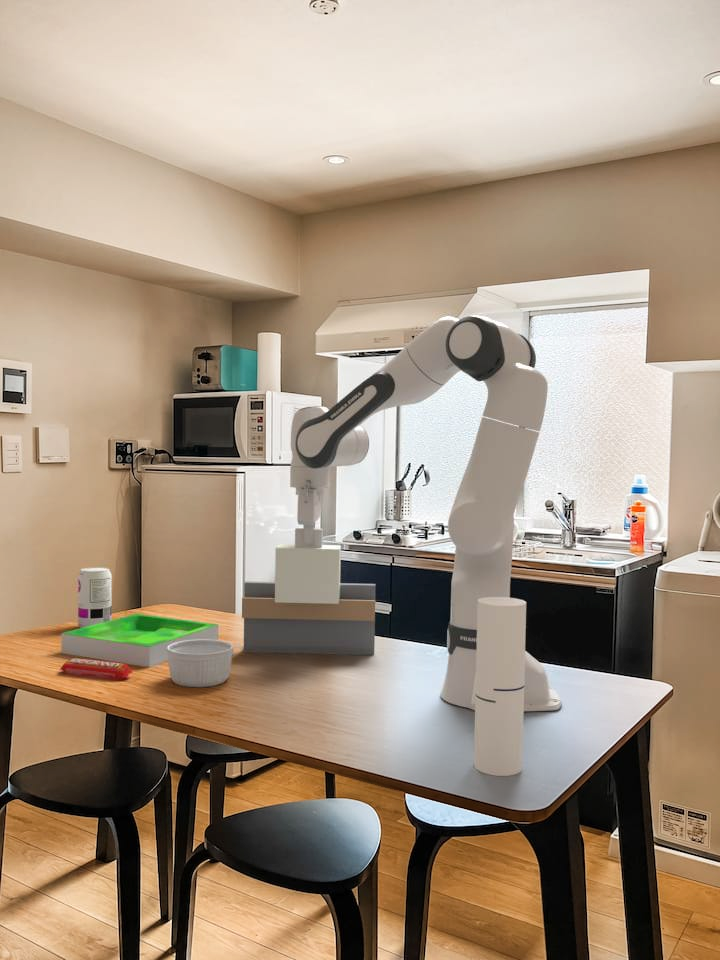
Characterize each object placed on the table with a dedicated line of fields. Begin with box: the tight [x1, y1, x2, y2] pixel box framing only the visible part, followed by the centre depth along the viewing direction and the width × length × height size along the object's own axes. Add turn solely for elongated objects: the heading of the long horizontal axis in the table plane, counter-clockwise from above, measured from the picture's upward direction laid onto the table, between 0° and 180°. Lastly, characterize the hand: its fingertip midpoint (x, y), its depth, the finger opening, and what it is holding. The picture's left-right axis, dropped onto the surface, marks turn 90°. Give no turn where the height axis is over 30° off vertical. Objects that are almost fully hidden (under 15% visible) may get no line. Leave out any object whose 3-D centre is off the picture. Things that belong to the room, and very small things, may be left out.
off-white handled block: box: [274, 527, 342, 604], centre depth 186 cm, size 14×7×16 cm, turn 89°
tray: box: [60, 613, 219, 668], centre depth 193 cm, size 25×25×5 cm
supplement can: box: [77, 566, 113, 629], centre depth 214 cm, size 8×8×15 cm
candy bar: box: [59, 658, 133, 681], centre depth 170 cm, size 16×4×3 cm, turn 72°
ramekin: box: [167, 639, 234, 688], centre depth 168 cm, size 13×13×7 cm
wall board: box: [241, 580, 376, 656], centre depth 192 cm, size 30×9×16 cm, turn 89°
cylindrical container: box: [473, 597, 527, 777], centre depth 124 cm, size 7×7×25 cm
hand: (309, 541), depth 186 cm, fingers closed on off-white handled block
